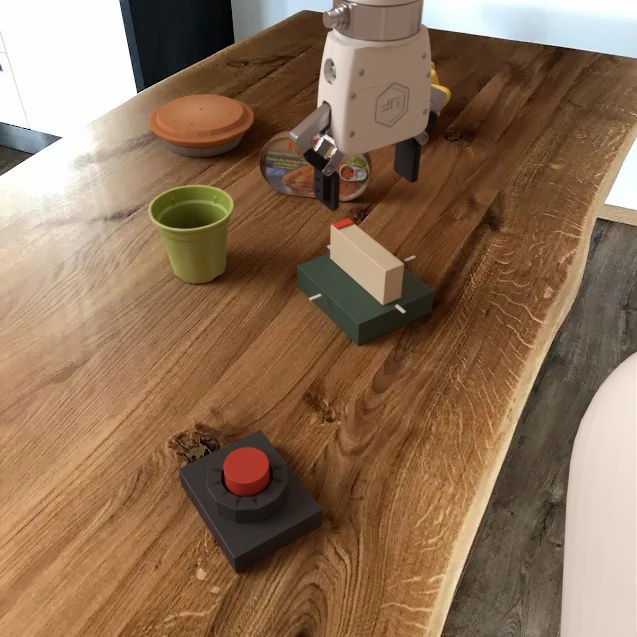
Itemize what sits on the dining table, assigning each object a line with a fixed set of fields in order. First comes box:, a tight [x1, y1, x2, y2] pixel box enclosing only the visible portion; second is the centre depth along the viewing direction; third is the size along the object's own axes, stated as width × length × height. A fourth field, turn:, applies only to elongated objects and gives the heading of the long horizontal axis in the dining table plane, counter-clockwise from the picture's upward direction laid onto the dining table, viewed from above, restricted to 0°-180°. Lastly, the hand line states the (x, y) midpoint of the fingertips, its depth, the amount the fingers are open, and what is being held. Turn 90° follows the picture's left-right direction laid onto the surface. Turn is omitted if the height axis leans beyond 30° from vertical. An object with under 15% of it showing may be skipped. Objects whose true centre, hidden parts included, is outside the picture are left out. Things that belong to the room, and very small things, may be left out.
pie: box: [148, 93, 255, 158], centre depth 109 cm, size 15×16×5 cm
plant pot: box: [147, 184, 235, 285], centre depth 83 cm, size 9×9×9 cm
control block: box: [178, 429, 323, 574], centre depth 60 cm, size 10×8×4 cm
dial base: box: [296, 244, 435, 346], centre depth 81 cm, size 14×14×3 cm
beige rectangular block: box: [329, 217, 405, 305], centre depth 79 cm, size 10×2×5 cm, turn 33°
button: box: [223, 447, 270, 497], centre depth 58 cm, size 4×4×2 cm
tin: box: [258, 130, 373, 202], centre depth 97 cm, size 15×3×8 cm, turn 76°
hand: (367, 189), depth 73 cm, fingers open, 9 cm apart
